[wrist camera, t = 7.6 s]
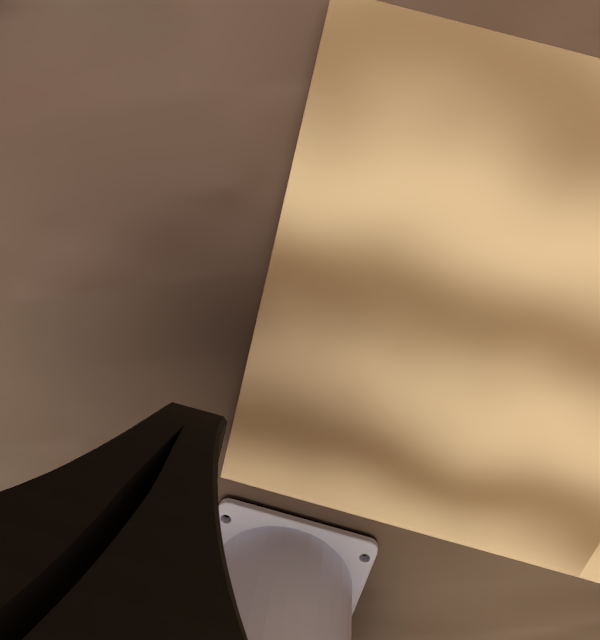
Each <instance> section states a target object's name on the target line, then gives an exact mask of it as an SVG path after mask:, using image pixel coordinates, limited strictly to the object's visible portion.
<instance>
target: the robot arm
mask: <svg viewBox="0 0 600 640" xmlns="http://www.w3.org/2000/svg"><path fill="white" fill-rule="evenodd" d="M226 425H227V421H226V420H225V418H224V416H220V415H216V414H213V413H209V412H206V411H202V410H198V409H195V408H191V407H187V406H184V405H180V404H177V403H173V402H172V403H170V404H168V405H167V406H165V407H163V408H162V409H160V410H159V411H157V412H156V413H154V414H152V415H151V416H149V417H148V418H146V419H145V420H143V421H142V422H140V423H138V424H137V425H135V426H134V427H132V428H130V429H129V430H127V431H125V432H124V433H122V434H120V435H119V436H117V437H115V438H114V439H112V440H110V441H108V442H107V443H105V444H103V445H102V446H100V447H98V448H96V449H94V450H92V451H90V452H88V453H87V454H85V455H83V456H81V457H79V458H77V459H75V460H73V461H71V462H69V463H67V464H65V465H63V466H61V467H59V468H57V469H55V470H53V471H51V472H48V473H46V474H44V475H41V476H39V477H37V478H34V479H32V480H29V481H27V482H25V483H22V484H20V485H17V486H15V487H12V488H9V489H6V490H3V491H0V640H352V615H353V612H354V610H355V607H356V605H357V602H358V600H359V597H360V595H361V593H362V590H363V588H364V585H365V583H366V580H367V578H368V575H369V573H370V570H371V568H372V565H373V563H374V561H375V558H376V556H377V553H378V544H377V542H376V541H375V540H374V539H373V538H370V537H367V536H363V535H360V534H356V533H353V532H349V531H345V530H342V529H338V528H335V527H331V526H328V525H324V524H320V523H317V522H313V521H310V520H306V519H303V518H299V517H295V516H292V515H288V514H285V513H281V512H278V511H274V510H270V509H267V508H263V507H260V506H256V505H253V504H249V503H245V502H242V501H238V500H235V499H231V498H226V499H223V500H222V501H221V502H220V504H219V505H218V484H217V478H218V461H219V456H220V452H221V447H222V443H223V438H224V434H225V429H226ZM224 515H228V516H230V518H227V517H225V516H224ZM362 554H367V556H362Z"/></svg>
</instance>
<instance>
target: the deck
mask: <svg viewBox="0 0 600 640" xmlns="http://www.w3.org/2000/svg"><path fill="white" fill-rule="evenodd" d="M221 477H222V478H225V479H229V480H233V481H236V482H240V483H243V484H247V485H250V486H254V487H258V488H261V489H265V490H268V491H272V492H275V493H279V494H283V495H286V496H290V497H293V498H297V499H300V500H304V501H308V502H311V503H315V504H318V505H322V506H325V507H329V508H333V509H336V510H340V511H343V512H347V513H351V514H354V515H358V516H361V517H365V518H368V519H372V520H376V521H379V522H383V523H386V524H390V525H393V526H397V527H401V528H404V529H408V530H411V531H415V532H418V533H422V534H426V535H429V536H433V537H436V538H440V539H444V540H447V541H451V542H454V543H458V544H461V545H465V546H469V547H472V548H476V549H479V550H483V551H486V552H490V553H494V554H497V555H501V556H504V557H508V558H511V559H515V560H519V561H522V562H526V563H529V564H533V565H537V566H540V567H544V568H547V569H551V570H554V571H558V572H562V573H565V574H569V575H572V576H576V577H579V578H583V579H587V580H590V581H594V582H597V583H600V58H596V57H592V56H588V55H585V54H581V53H577V52H573V51H569V50H565V49H561V48H558V47H554V46H550V45H546V44H542V43H538V42H534V41H531V40H527V39H523V38H519V37H515V36H511V35H508V34H504V33H500V32H496V31H492V30H488V29H484V28H481V27H477V26H473V25H469V24H465V23H461V22H457V21H454V20H450V19H446V18H442V17H438V16H434V15H430V14H427V13H423V12H419V11H415V10H411V9H407V8H403V7H400V6H396V5H392V4H388V3H384V2H380V1H376V0H330V2H329V7H328V11H327V15H326V20H325V24H324V28H323V33H322V37H321V42H320V46H319V50H318V55H317V59H316V63H315V68H314V72H313V76H312V81H311V85H310V90H309V94H308V98H307V103H306V107H305V111H304V116H303V120H302V124H301V129H300V133H299V137H298V142H297V146H296V151H295V155H294V159H293V164H292V168H291V172H290V177H289V181H288V185H287V190H286V194H285V198H284V203H283V207H282V212H281V216H280V220H279V225H278V229H277V233H276V238H275V242H274V246H273V251H272V255H271V259H270V264H269V268H268V273H267V277H266V281H265V286H264V290H263V294H262V299H261V303H260V307H259V312H258V316H257V320H256V325H255V329H254V334H253V338H252V342H251V347H250V351H249V355H248V360H247V364H246V368H245V373H244V377H243V382H242V386H241V390H240V395H239V399H238V403H237V408H236V412H235V416H234V421H233V425H232V429H231V434H230V438H229V443H228V447H227V451H226V456H225V460H224V464H223V469H222V473H221Z"/></svg>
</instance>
